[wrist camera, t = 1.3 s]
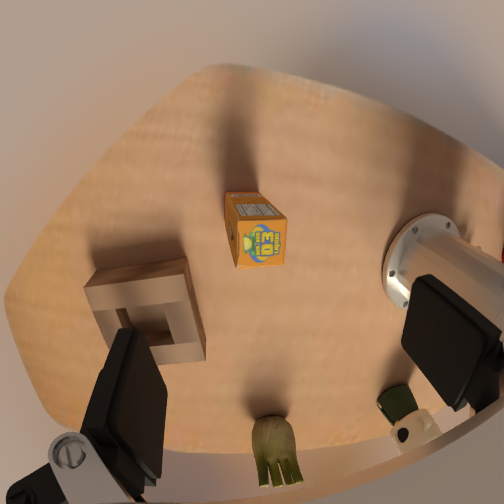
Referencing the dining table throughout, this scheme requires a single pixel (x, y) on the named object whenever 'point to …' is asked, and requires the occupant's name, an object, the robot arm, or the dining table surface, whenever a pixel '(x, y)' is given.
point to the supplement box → (254, 230)
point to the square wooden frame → (151, 308)
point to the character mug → (407, 419)
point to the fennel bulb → (275, 451)
